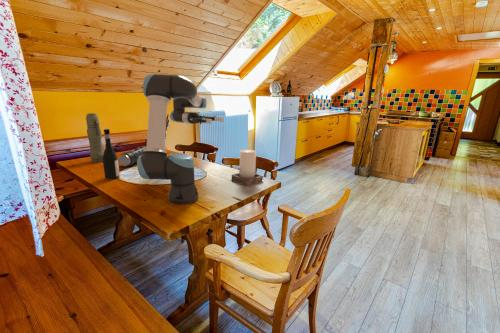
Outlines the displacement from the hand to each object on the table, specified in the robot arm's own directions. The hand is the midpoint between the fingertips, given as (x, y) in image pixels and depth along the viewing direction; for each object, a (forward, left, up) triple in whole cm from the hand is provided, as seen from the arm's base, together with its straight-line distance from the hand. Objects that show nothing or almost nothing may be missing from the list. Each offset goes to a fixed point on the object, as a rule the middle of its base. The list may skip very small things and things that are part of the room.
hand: (217, 120), depth 160 cm
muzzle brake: (-32, +59, -36) cm, 76 cm away
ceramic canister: (+8, -21, -35) cm, 41 cm away
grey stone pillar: (-52, +79, -36) cm, 101 cm away
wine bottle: (-55, +34, -36) cm, 74 cm away
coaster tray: (+8, -21, -36) cm, 42 cm away
